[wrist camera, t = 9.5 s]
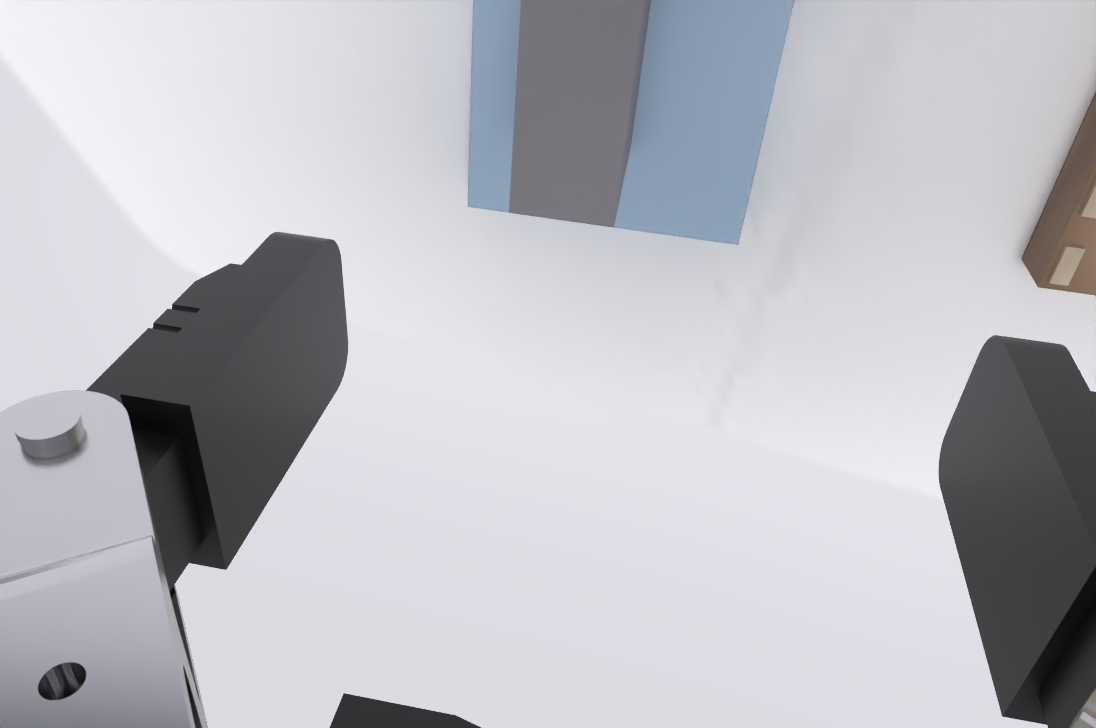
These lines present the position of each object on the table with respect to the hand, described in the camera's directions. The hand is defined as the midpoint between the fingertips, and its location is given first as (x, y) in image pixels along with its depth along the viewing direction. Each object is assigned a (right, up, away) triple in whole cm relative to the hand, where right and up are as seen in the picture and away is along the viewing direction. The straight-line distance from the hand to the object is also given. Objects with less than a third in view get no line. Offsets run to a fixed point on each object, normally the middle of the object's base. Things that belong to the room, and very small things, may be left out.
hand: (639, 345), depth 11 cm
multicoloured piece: (+1, +11, +18) cm, 21 cm away
